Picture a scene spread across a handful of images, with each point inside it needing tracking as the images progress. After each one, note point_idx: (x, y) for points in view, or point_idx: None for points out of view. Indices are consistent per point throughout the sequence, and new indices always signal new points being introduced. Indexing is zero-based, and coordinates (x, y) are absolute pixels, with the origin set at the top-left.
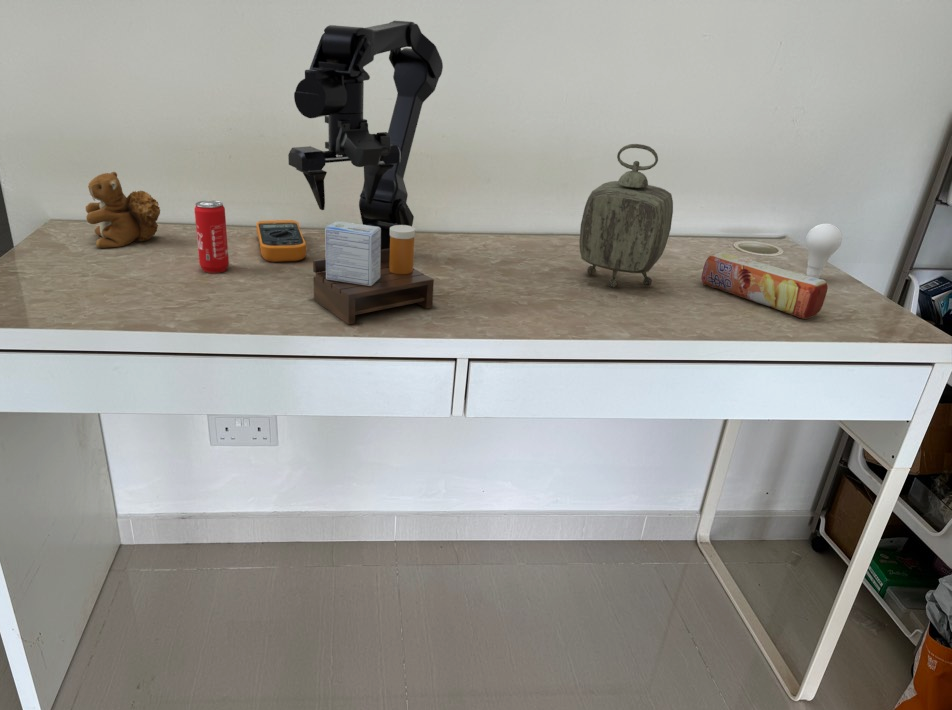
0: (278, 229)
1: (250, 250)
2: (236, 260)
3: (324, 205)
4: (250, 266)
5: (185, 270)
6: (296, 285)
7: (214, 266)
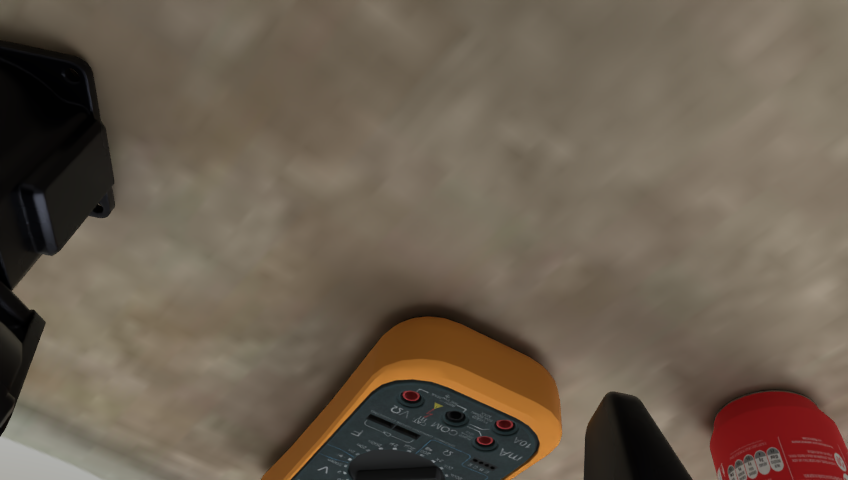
0: None
1: None
2: None
3: (629, 432)
4: (637, 375)
5: None
6: (702, 98)
7: (826, 419)
